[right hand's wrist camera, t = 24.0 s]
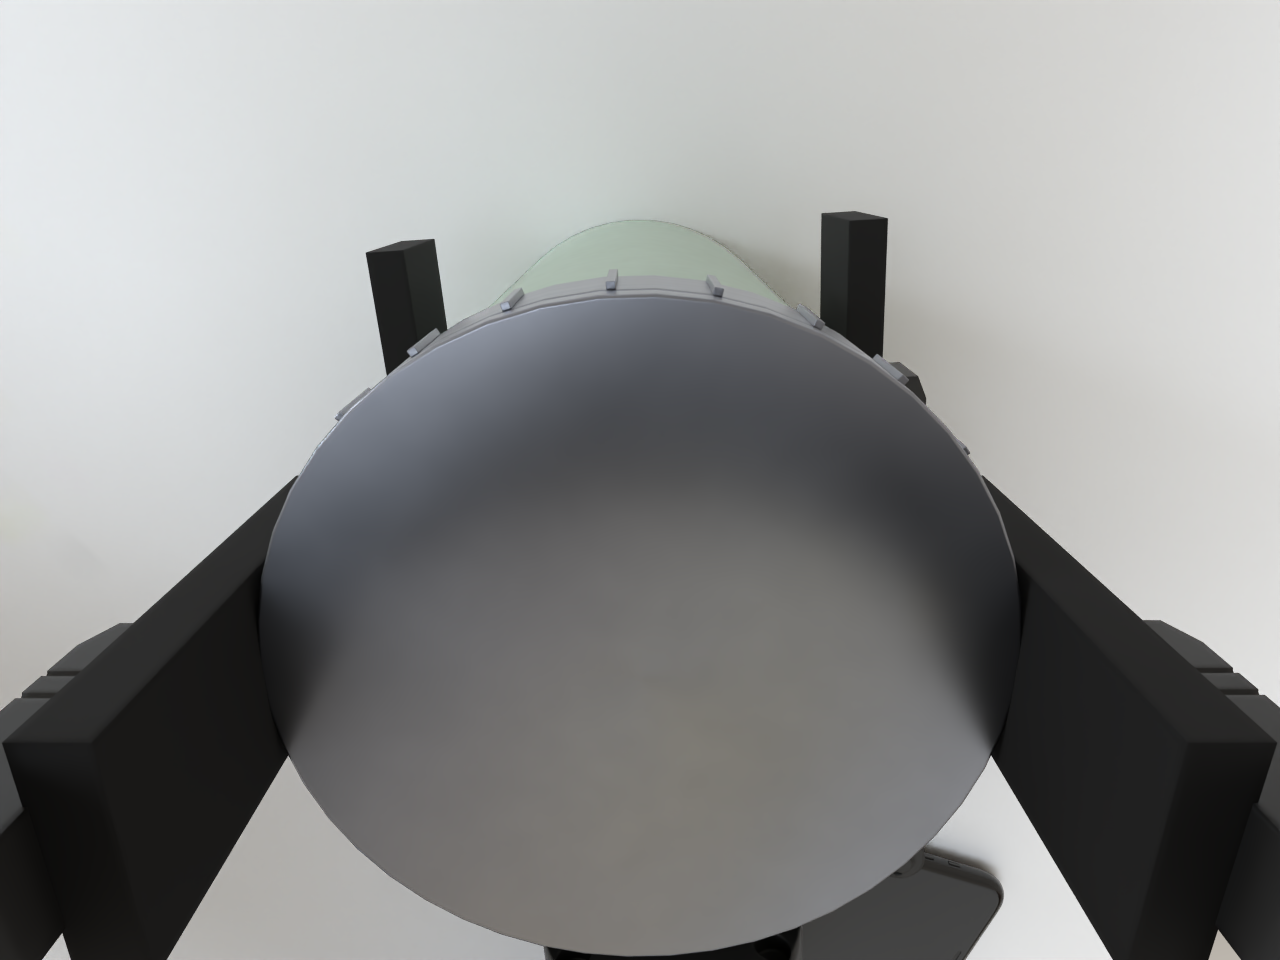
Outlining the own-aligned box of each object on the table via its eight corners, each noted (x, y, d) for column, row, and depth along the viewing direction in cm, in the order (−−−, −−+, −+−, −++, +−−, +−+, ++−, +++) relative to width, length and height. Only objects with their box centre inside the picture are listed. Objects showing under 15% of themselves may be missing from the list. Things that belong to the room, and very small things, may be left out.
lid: (728, 953, 14) (738, 1050, 13) (196, 700, 12) (133, 776, 11) (1121, 514, 11) (1197, 570, 10) (508, 109, 10) (483, 97, 8)
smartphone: (550, 906, 33) (916, 1009, 35) (547, 925, 32) (922, 1030, 34) (617, 751, 31) (1008, 870, 33) (616, 767, 30) (1018, 890, 32)
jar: (841, 383, 26) (1108, 673, 11) (627, 554, 28) (612, 989, 13) (655, 152, 24) (680, 131, 9) (435, 356, 26) (158, 616, 11)
